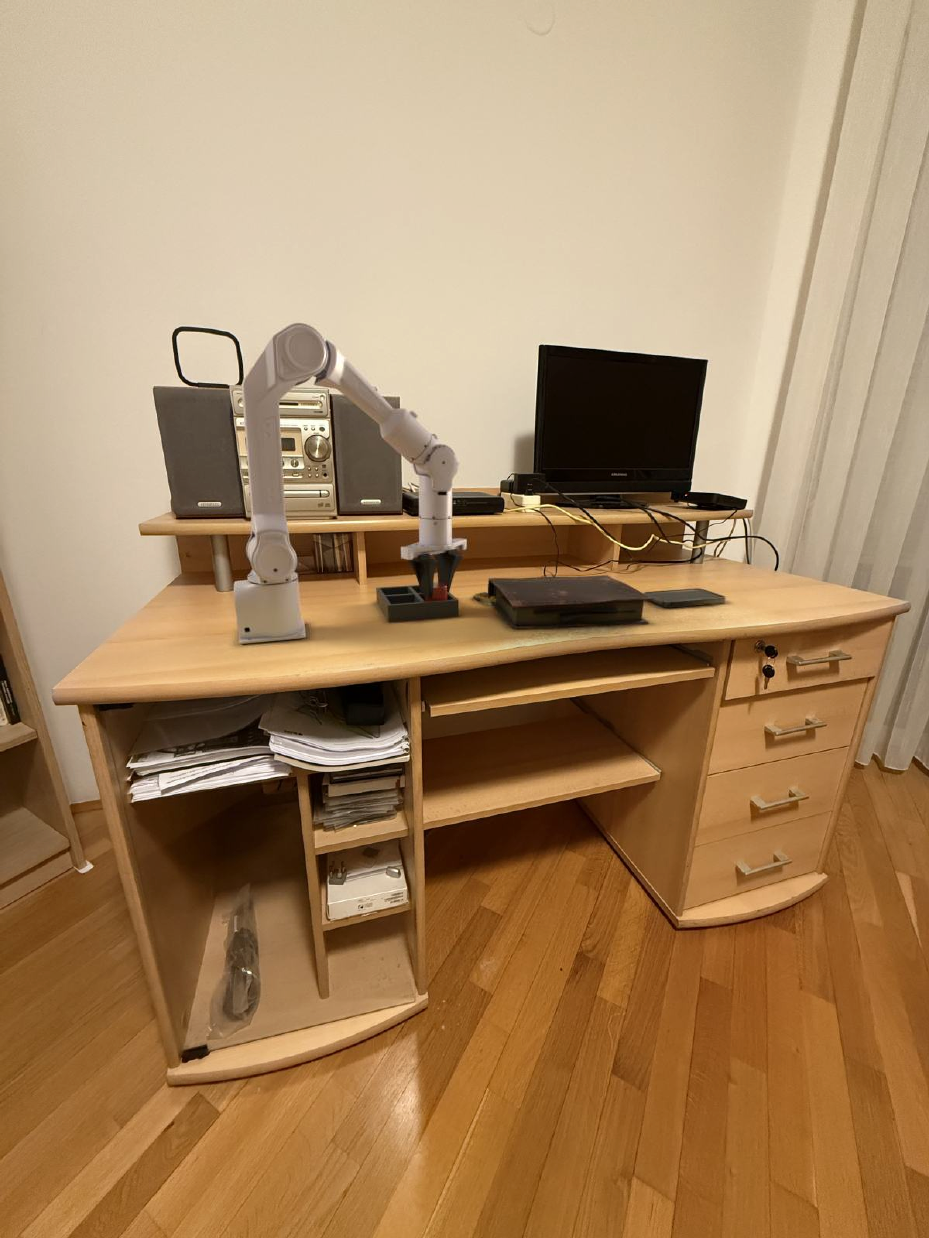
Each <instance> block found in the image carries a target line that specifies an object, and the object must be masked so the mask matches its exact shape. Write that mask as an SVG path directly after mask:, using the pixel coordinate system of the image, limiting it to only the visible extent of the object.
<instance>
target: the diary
mask: <svg viewBox="0 0 929 1238" xmlns="http://www.w3.org/2000/svg"><path fill="white" fill-rule="evenodd" d="M487 593H488V598H489V599H490V597H491V596H495V598H496V602H492V601H491V600H490V601H491V604H492V605H493V606H492V607H493V608H494V609H495V610H496V612H497V613H498V614H499V616H500V617H501V619H502V620H503V621H505V623H506V624H507V625H508V626H509V627H510V628H513V629H554V628H555V629H556V628H566V627H568V628H569V627H577V626H584V627H611V626H633V625H636V626H637V625H648V624H649V623H650V622H649V621H648V620H646V619H644V618H642V617H643V610H644V605H645V604H644V603H645V602H647V601H648V600H653V599H652V598H650V597H649V596H647V595H645V594H643V593H644V592H642V591H640V590H638V589H636V588H635V587H633V586H631V585H629V584H627V583H624V582H623V581H621V580H619V579H615V578H613V577H612V576H609V575H606V574H605V575H604V574H603V575H587V576H586V575H585V576H537V577H536V576H535V577H522V578H521V577H520V578H519V577H489V578H488V581H487ZM648 602H649V601H648Z"/></svg>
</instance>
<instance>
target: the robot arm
mask: <svg viewBox="0 0 929 1238" xmlns="http://www.w3.org/2000/svg"><path fill="white" fill-rule="evenodd" d="M313 377H314V378H315V380H314V383H313V385H314V386H317V387H322V388H329V389H335V390H337V391H338V392H339V393H341V394H342V395H343V396H344V397H346V398H347V399H348V400H349V401H350V402H351V403H353V404H354V405H355V406H357V408H359V409H360V410H361V411H362V412H363V413H365V414H366V415H367V416H369V418H371V420H373V421H375V423H376V424H378V425H379V430H380V435H381V438H382V439H383V440H384V442H386V443H387V444H388V445H390V447H391V448H393V449H394V450H395V452H397V453H398V454H399V455H401V457H403V458H404V459H405V460H406V461H407V462H409V463H410V464H411V465H412V469H413V471H414V473H415V475H417V476H418V527H419V528H418V540H419V541H418V542H415V543H412V544H409V545H404V546H401V547H400V558H401V560H402V559H403V560H407V562H408V563H409V565H410V567H411V568H412V570H413V572H414V575H415V577H416V579H417V582H418V585H419V587H420V590H421V594H422V595H423V596H426V597H432V594H433V583H435V581H434V580H435V575H436V574H435V573H436V570H437V583H444V584H447V592H450V591H451V588H452V583H453V579H454V577H455V574H456V571H457V569H458V567H459V565H460V563H461V561H462V560H463V553H462V552H458V551H466V550H467V548H468V547H467V546H468V545H467V541H468V540H467V538H460V537H458V538H457V537H456V538H453V480H454V478H455V476H456V475H457V473H458V471H459V468H460V462H459V461H457V460H458V459H457V457H456V453H455V452H454V450H453V449H452V447H450V446H448V445H447V444H442V443H439V436H438V435H437V434H436V433H432V432H430V431H429V430H428V429H426V427H425V426H424V425H423V424H422V423H421V422H419V421H418V417H419V415H418V414H417V413H416V412H415V411H414V410H410V411H408V410H407V409H406V408H404V407H401V408H394V407H392V405H391V404H390V403H389V402H388V401H387V400H386V399H385V398H384V397H383V396H382V395H381V393H379V391H377V390H376V388H375V387H374V386H373V385H372V384H371V383H370V382H369V381H368V380H367V379H366V378H365V377H364V376H363V375H362V374H361V373H360V372H359V371H358V370H357V369H356V367H354V366H353V364H352V363H350V361H349V360H348V359H347V358H346V357H345V355H344V354H343V353H342V352H341V351H340V350H339V349H338V347H337V346H336V345H335V344H333V343H332V342H330V341H329V340H328V339H326V340H325V339H324V337H323V336H322V334H321V333H320V332H319V331H318V330H317V329H316V328H315V327H313V326H311V325H310V324H308V323H304V322H294V323H291V324H289V325H287V326H285V327H284V328H282V329H281V330H279V331H278V332H277V333H275V334H273V335H272V336H271V337H270V339H269V341H268V342H267V344H266V345H265V346H264V348H263V350H262V351H261V353H260V354H259V356H258V357H257V358H256V360H255V362H254V363H253V365H252V366H251V367H250V369H249V371H248V372H247V373H246V375H245V377H244V379H242V384H241V396H242V398H241V399H242V411H243V421H244V423H243V424H244V435H245V436H244V437H245V446H246V447H245V449H246V459H247V460H246V462H247V474H248V475H247V476H248V487H249V500H250V515H251V516H250V536H249V538H248V540H247V543H246V547H245V553H246V557H247V560H248V562H250V566H251V568H252V569H251V570H250V572H249V573H248V574H247V579H245V580H236V581H234V582H233V600H234V601H233V602H234V608H235V617H236V619H235V621H236V627H237V629H238V630H237V631H238V639H239V644H241V645H242V644H243V645H245V644H253V643H255V644H256V643H265V642H275V641H276V642H277V641H286V640H287V641H288V640H297V639H305V638H306V637H307V632H306V623H305V622H306V621H305V620H303V618H302V607H301V596H300V586H299V577H298V576H299V574H298V573H297V572H295V571H296V569H297V566H298V557H297V553H296V551H295V549H294V548H293V546H292V544H291V541H290V532H289V525H288V521H287V517H286V502H285V501H286V500H285V482H284V467H283V449H282V433H281V430H282V429H281V413H280V400H281V399H282V398H284V397H285V396H286V395H287V394H288V393H289V392H290V391H291V390H292V389H293V388H294V387H297V386H300V385H302V384H305V383H307V382H308V381H309V380H311V379H312V378H313ZM432 555H433V557H434V559H433V558H432Z"/></svg>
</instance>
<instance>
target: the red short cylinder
mask: <svg viewBox="0 0 929 1238" xmlns="http://www.w3.org/2000/svg"><path fill="white" fill-rule="evenodd" d="M441 600H447V584H444V583H438V582H433V594H432V597H426V596H425V602H428V601H441Z"/></svg>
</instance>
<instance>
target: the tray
mask: <svg viewBox="0 0 929 1238" xmlns="http://www.w3.org/2000/svg"><path fill="white" fill-rule="evenodd" d="M375 590H376V591H375V593H376V603H377V605H378V607H379V608H380V610H381V612H382V614H383V615H384V617H385V619H386V620H387V622H388V623H396V622H408V621H419V620H429V619H443V618H454V617H459V616H460V615H459V611H460V610H459V608H460V605H459V604H460V603H459V602H460V600H459V599H458V598H457V597H456V596H454V594H452V593H451V592H450V591H449V592H447V600H441V601H428V602H425V596H423V595H422V594H421V590H420V587H419V584H414V585H413V584H412V585H411V584H410V585H395V586H383V587H375Z"/></svg>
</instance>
